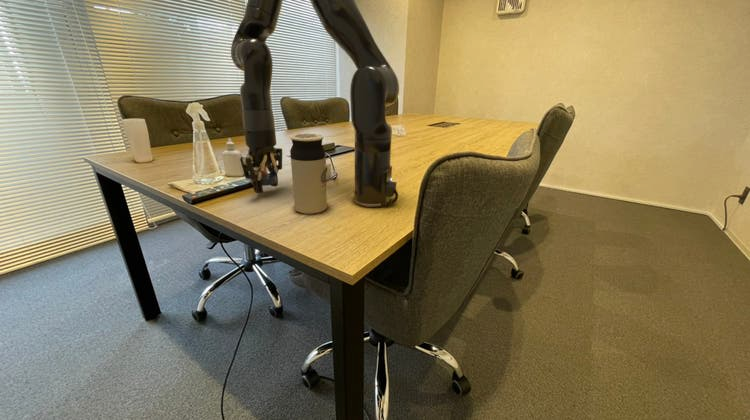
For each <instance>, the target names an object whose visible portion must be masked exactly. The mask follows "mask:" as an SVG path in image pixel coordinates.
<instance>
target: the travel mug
mask: <svg viewBox="0 0 750 420" xmlns="http://www.w3.org/2000/svg"><path fill="white" fill-rule="evenodd" d="M289 138H290V140H291V143H292V146H291V148H290V150H289V153H290V166H291V177H292V178H291V179H292V191H293V201H294V202H293V205H294V210H295V211H296V212H298V213H300V214H304V215H305V214H306V215H312V214H319V213H321V212H323V211H325V210H326V209H328V199H327V196H328V195H327V180H326V164H325V156H326V148H325V147H324V146H323V139H324V135H322V134H319V133H298V134H297V133H296V134H292V135H290V136H289ZM324 148H325V149H324Z"/></svg>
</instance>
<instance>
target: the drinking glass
mask: <svg viewBox="0 0 750 420" xmlns="http://www.w3.org/2000/svg"><path fill="white" fill-rule="evenodd" d="M121 125H122V129H123V131H124V134H125V137H126V140H127V142H128V145H129V147H130V150H131V152H132V154H133V158H134V161H135V162H136V163H138V164H139V163H140V164H143V163H144V164H145V163H149V162H152V161H153V160H154V158H153V153H152V147H151V140H150V136H149V135H150V134H149V131H148V125H147V122H146V119H145V118H124V119H123V118H122V119H121Z"/></svg>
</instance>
